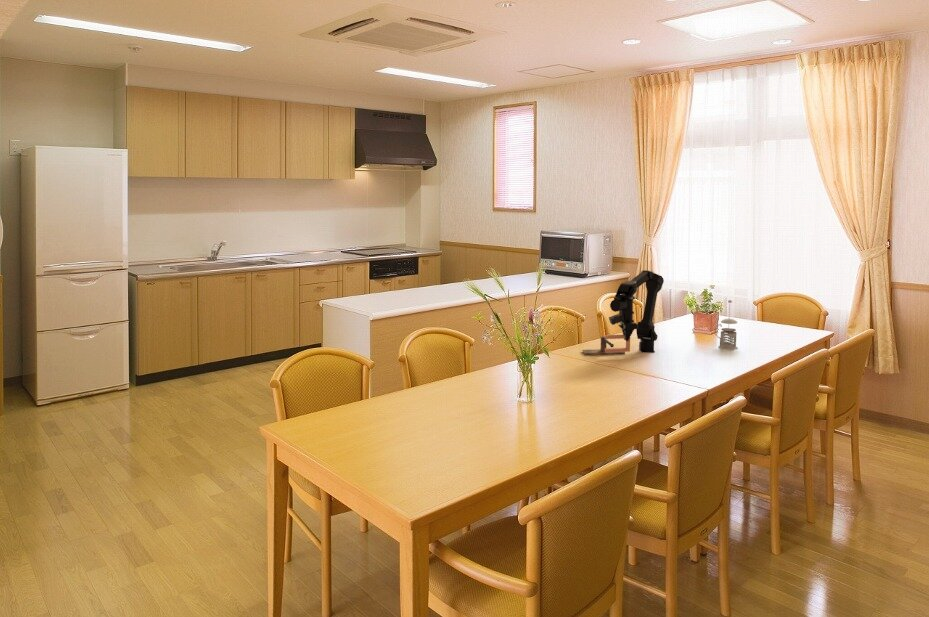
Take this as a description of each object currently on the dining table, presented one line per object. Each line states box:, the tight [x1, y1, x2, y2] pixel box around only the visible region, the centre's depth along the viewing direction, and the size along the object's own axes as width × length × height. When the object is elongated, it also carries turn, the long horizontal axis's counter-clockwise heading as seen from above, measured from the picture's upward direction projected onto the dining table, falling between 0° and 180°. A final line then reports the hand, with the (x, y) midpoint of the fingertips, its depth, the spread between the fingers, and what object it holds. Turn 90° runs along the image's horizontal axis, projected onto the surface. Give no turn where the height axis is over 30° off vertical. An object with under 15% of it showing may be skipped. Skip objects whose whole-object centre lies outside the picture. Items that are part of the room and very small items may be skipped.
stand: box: [581, 336, 626, 356], centre depth 349 cm, size 20×21×8 cm
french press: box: [714, 299, 738, 351], centre depth 364 cm, size 10×12×25 cm
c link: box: [604, 334, 631, 353], centre depth 345 cm, size 12×2×8 cm, turn 92°
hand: (626, 340), depth 345 cm, fingers closed on c link, 2 cm apart
